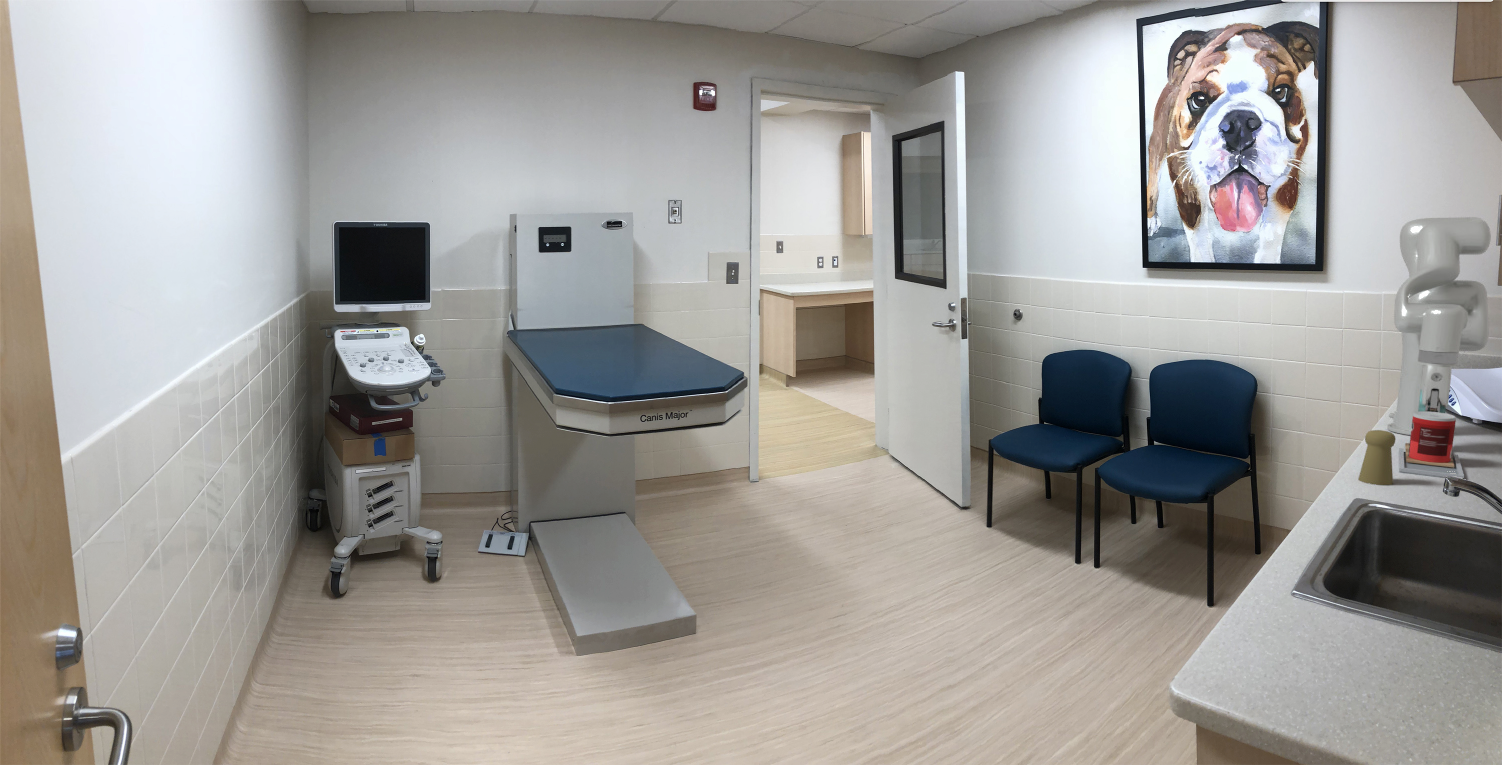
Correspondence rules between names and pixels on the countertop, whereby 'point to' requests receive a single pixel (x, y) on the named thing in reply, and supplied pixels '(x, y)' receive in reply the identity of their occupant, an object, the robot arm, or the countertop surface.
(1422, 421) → the canned food
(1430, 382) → the robot arm
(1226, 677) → the countertop surface
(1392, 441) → the cork
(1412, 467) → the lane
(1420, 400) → the teal upright with base
